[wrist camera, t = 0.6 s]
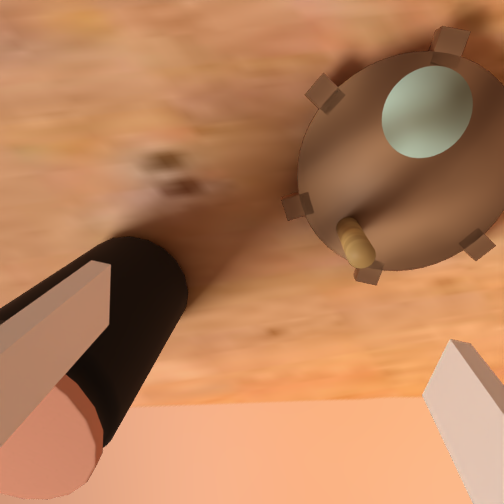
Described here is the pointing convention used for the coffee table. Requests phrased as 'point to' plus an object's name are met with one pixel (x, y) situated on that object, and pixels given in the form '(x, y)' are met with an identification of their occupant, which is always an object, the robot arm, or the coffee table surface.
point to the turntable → (404, 160)
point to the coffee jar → (95, 371)
